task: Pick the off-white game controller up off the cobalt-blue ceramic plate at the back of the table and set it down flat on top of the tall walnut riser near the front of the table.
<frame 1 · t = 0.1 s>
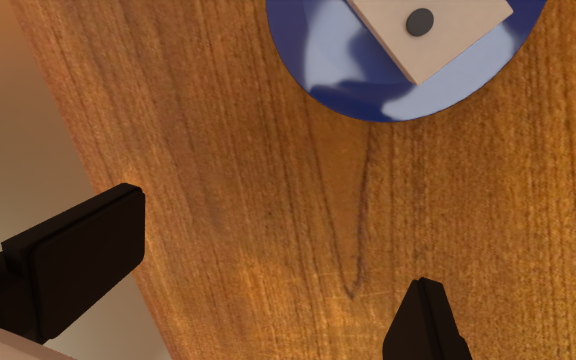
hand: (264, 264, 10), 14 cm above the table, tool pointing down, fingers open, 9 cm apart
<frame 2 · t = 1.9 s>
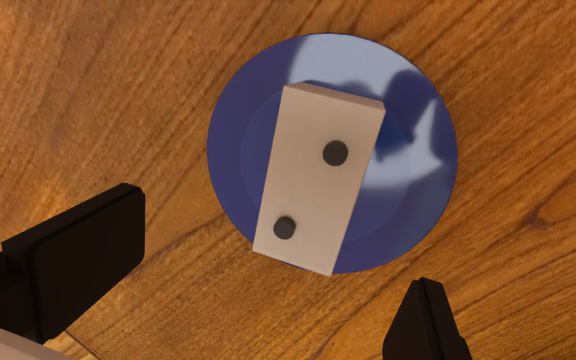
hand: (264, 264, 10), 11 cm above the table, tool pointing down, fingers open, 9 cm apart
controller: (319, 169, 20), point 1 cm above the table, touching plate
plate: (321, 165, 21), on the table
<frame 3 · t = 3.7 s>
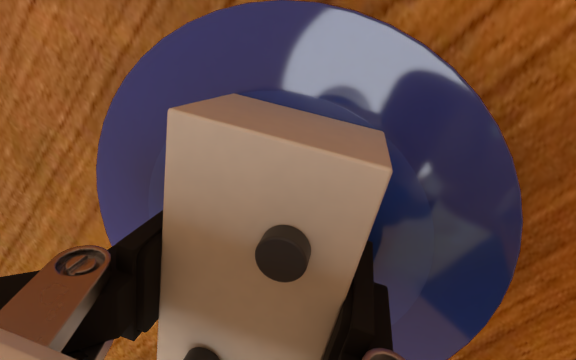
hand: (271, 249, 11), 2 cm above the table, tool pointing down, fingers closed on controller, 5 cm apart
controller: (276, 240, 12), point 1 cm above the table, touching gripper, plate
plate: (283, 227, 12), on the table
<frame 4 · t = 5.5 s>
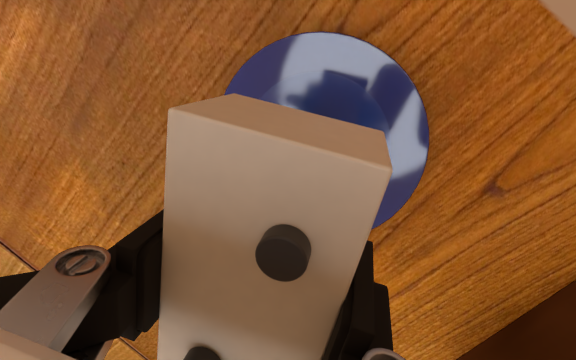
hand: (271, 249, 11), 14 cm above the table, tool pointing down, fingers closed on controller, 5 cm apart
controller: (276, 240, 12), point 14 cm above the table, touching gripper
plate: (316, 145, 24), on the table
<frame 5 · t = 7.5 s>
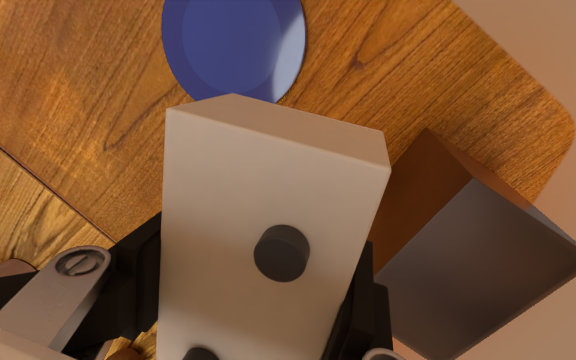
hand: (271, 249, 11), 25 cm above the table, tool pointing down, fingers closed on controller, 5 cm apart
fruit: (135, 350, 57), on the table
planter: (27, 280, 57), on the table
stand: (455, 286, 21), on the table
controller: (275, 240, 12), point 24 cm above the table, touching gripper
plate: (233, 39, 33), on the table
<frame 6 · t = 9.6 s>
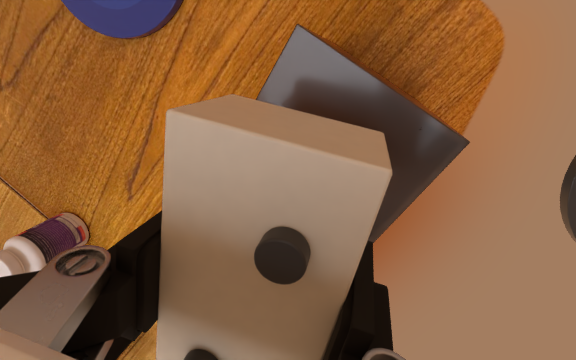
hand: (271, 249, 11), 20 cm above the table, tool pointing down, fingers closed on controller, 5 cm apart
electronic device: (119, 325, 49), on the table
pill bottle: (75, 227, 43), on the table
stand: (302, 193, 16), on the table
controller: (275, 242, 12), point 20 cm above the table, touching gripper
when the fingers open (16 cm above the table, at t = 11.2 s): controller stays where it is, resting on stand.
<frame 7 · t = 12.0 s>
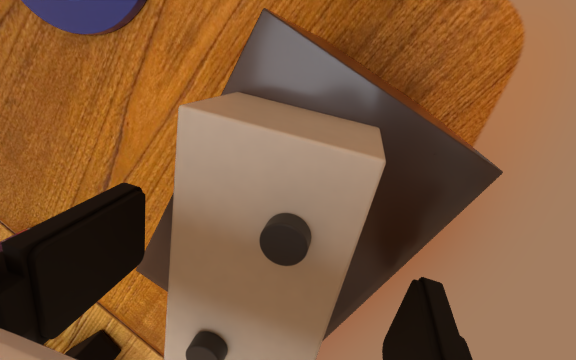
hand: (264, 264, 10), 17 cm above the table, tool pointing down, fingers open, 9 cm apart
electronic device: (96, 347, 45), on the table
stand: (278, 232, 12), on the table
controller: (277, 232, 12), point 15 cm above the table, touching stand
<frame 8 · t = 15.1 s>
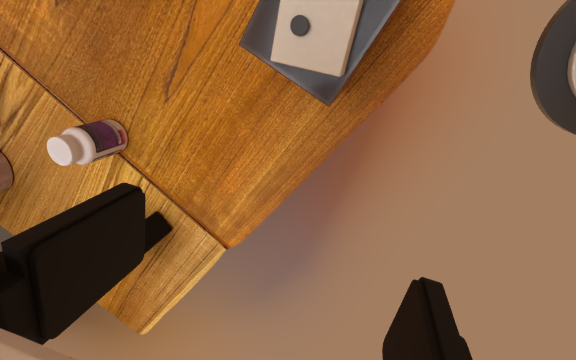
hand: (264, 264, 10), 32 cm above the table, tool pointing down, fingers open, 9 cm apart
electronic device: (150, 231, 55), on the table
pill bottle: (115, 135, 49), on the table
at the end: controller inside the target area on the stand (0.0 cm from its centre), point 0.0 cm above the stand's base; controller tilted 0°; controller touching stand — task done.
